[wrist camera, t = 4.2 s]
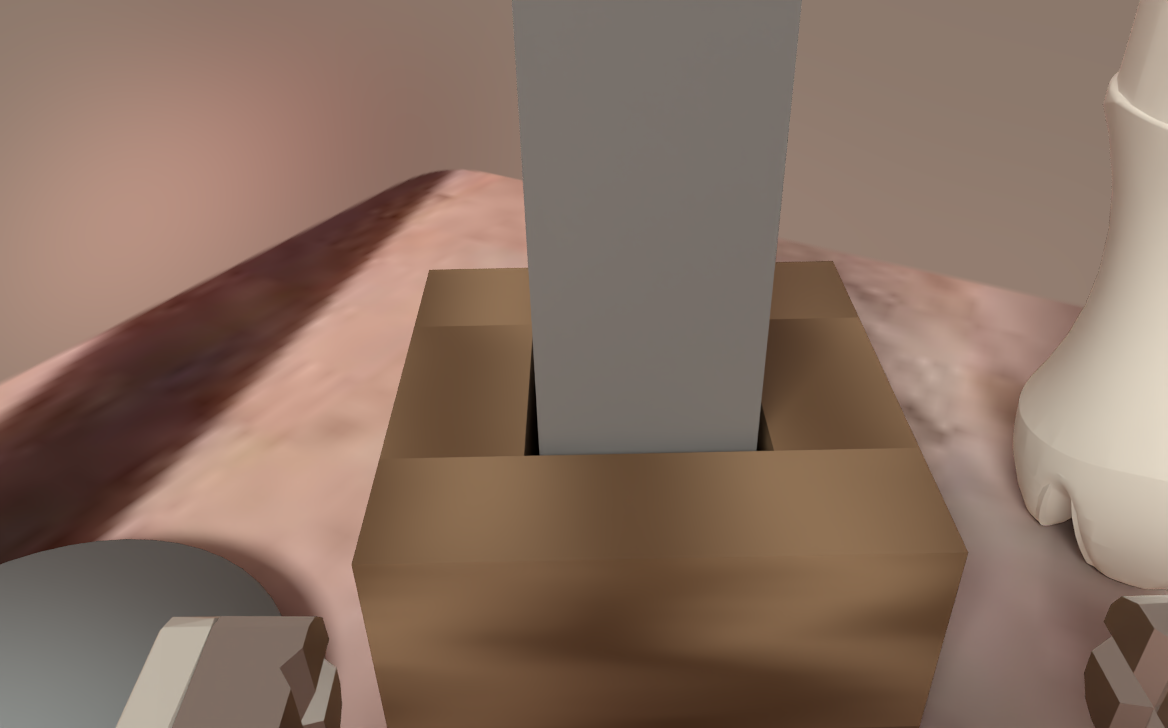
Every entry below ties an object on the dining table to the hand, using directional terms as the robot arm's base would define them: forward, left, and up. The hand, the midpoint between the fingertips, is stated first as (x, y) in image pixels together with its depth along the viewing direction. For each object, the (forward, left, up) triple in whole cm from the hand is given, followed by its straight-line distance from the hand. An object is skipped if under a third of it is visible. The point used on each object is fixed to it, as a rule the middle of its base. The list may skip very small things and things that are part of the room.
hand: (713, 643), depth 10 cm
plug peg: (+6, -10, -9) cm, 15 cm away
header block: (+6, -10, -10) cm, 15 cm away
